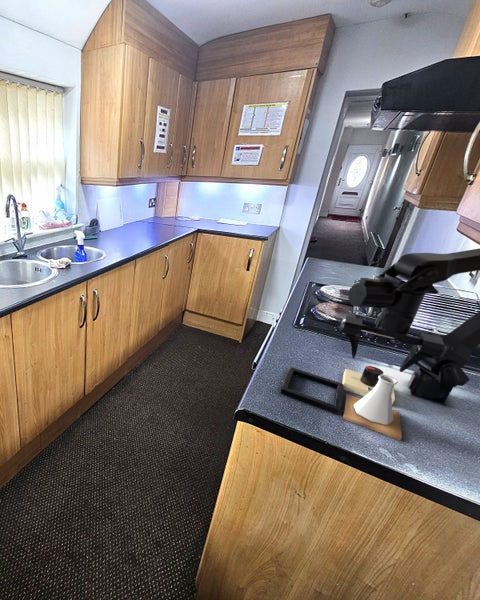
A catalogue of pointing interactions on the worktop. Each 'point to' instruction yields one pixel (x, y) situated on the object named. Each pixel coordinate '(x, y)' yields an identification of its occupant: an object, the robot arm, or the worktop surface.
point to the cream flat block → (357, 384)
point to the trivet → (390, 429)
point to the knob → (371, 376)
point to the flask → (378, 401)
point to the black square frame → (311, 400)
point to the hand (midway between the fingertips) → (376, 364)
